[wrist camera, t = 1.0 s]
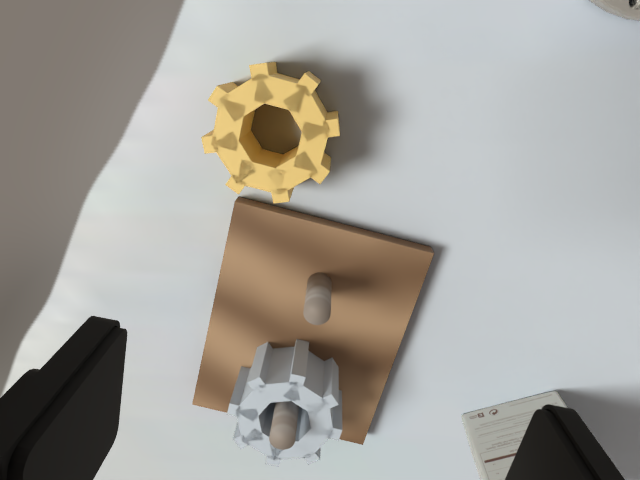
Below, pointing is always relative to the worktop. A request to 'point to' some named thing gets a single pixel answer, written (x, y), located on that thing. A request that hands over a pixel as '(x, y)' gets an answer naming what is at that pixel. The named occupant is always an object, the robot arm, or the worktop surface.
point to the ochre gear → (242, 146)
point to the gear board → (282, 299)
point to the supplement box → (502, 432)
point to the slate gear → (287, 385)
